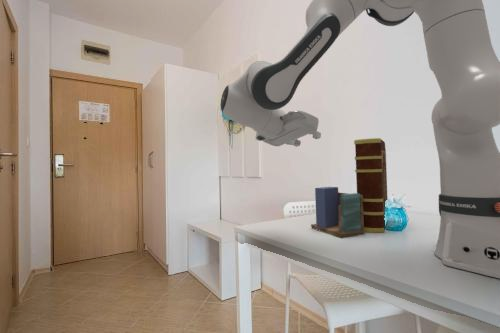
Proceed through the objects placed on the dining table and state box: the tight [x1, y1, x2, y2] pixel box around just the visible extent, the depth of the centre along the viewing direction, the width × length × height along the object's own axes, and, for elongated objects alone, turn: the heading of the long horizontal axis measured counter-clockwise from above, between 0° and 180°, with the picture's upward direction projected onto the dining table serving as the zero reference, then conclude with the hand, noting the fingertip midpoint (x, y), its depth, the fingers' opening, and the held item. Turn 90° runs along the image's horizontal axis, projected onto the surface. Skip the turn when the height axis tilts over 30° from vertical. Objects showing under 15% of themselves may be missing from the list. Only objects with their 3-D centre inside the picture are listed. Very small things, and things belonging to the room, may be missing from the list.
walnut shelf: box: [310, 191, 365, 239], centre depth 87 cm, size 15×9×13 cm, turn 23°
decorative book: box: [353, 137, 388, 234], centre depth 93 cm, size 22×8×30 cm, turn 148°
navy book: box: [314, 186, 339, 228], centre depth 89 cm, size 4×7×13 cm, turn 123°
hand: (308, 140), depth 81 cm, fingers open, 8 cm apart
